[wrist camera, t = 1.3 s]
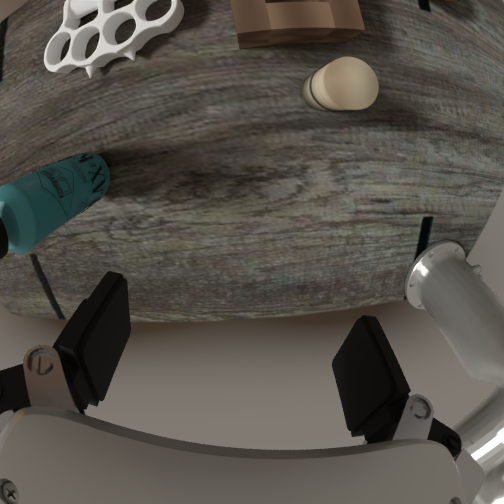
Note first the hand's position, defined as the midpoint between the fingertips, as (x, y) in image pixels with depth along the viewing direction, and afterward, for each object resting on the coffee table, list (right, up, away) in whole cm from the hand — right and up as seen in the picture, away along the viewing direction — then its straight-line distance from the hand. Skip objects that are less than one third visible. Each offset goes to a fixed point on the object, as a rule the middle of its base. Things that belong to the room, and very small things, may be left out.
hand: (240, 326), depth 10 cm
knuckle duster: (-16, +30, +10) cm, 36 cm away
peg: (+8, +20, +15) cm, 26 cm away
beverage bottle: (-19, +13, +19) cm, 30 cm away
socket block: (+4, +30, +9) cm, 32 cm away
